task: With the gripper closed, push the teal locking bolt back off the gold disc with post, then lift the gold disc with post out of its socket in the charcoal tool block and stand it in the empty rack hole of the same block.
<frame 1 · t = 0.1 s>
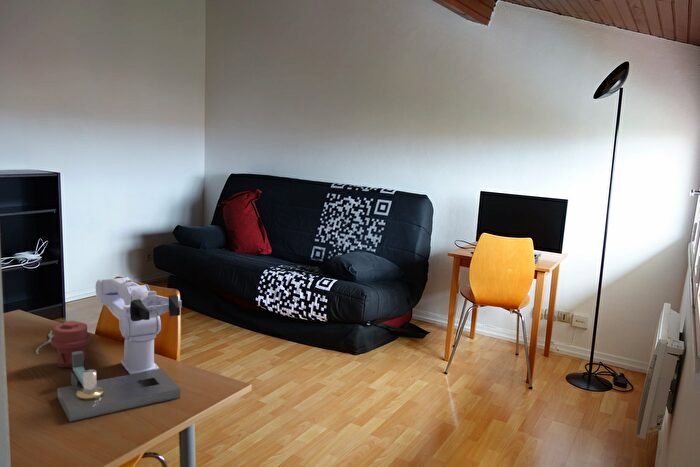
hand: (163, 313, 149), 22 cm above the table, tool horizontal, fingers open, 7 cm apart
gold disc with post: (90, 403, 145), resting in tool block
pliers: (50, 344, 181), on the table
locking bolt: (82, 368, 150), point 6 cm above the table, slide at 0.0 cm
mechanical component: (71, 365, 166), on the table
tool block: (119, 397, 149), on the table
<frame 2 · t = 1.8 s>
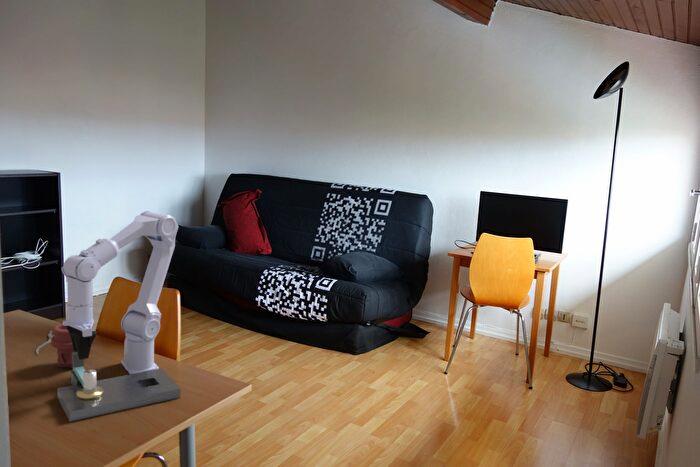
hand: (81, 354, 150), 9 cm above the table, tool pointing down, fingers open, 5 cm apart
nothing on the table moved.
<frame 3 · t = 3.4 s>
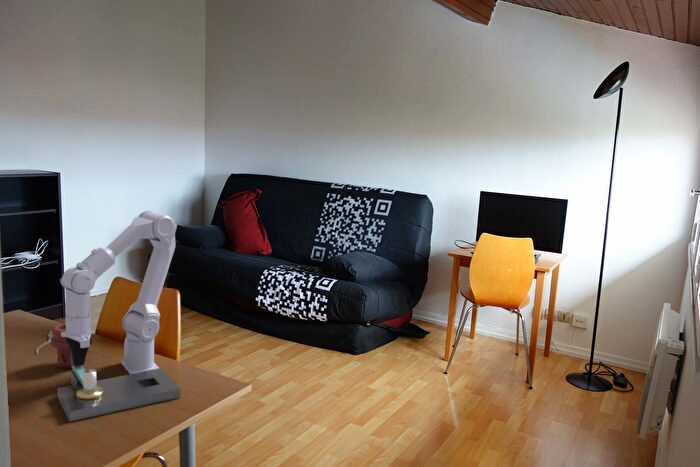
hand: (79, 365, 153), 6 cm above the table, tool pointing down, fingers closed
locking bolt: (81, 367, 151), point 6 cm above the table, slide at 1.2 cm, touching gripper
everything else where it was.
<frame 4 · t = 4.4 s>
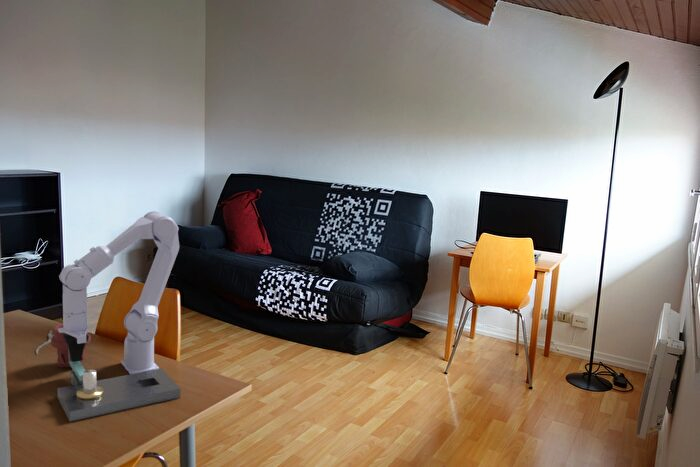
hand: (76, 360, 156), 6 cm above the table, tool pointing down, fingers closed
locking bolt: (78, 362, 154), point 6 cm above the table, slide at 4.5 cm, touching gripper
everything else where it was.
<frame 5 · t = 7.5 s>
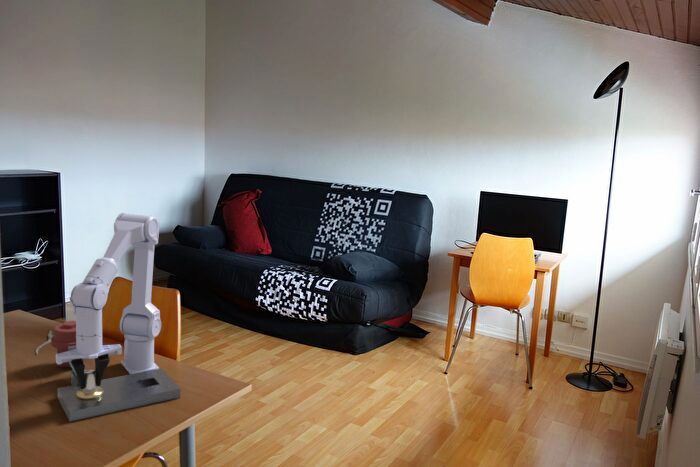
hand: (89, 386, 144), 5 cm above the table, tool pointing down, fingers closed on gold disc with post, 3 cm apart
gold disc with post: (90, 403, 145), resting in tool block, touching gripper
locking bolt: (78, 362, 154), point 6 cm above the table, slide at 4.5 cm
everything else where it was.
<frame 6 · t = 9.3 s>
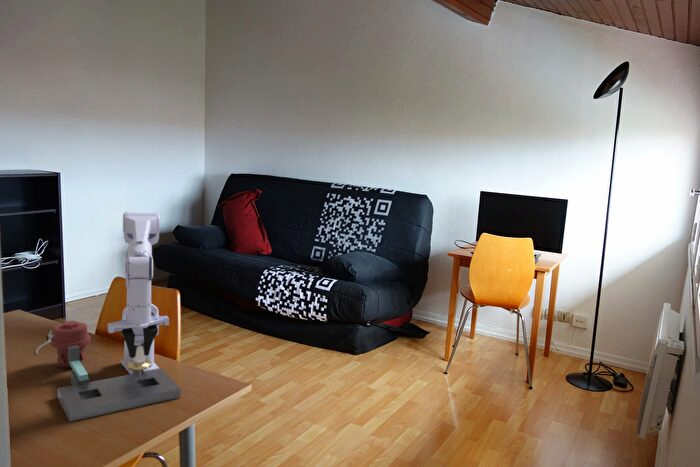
hand: (138, 355, 150), 10 cm above the table, tool pointing down, fingers closed on gold disc with post, 3 cm apart
gold disc with post: (138, 375, 151), point 5 cm above the table, touching gripper
everything else where it was.
when the fingers open (6 cm above the table, at t = 10.9 s): gold disc with post stays where it is, resting on tool block.
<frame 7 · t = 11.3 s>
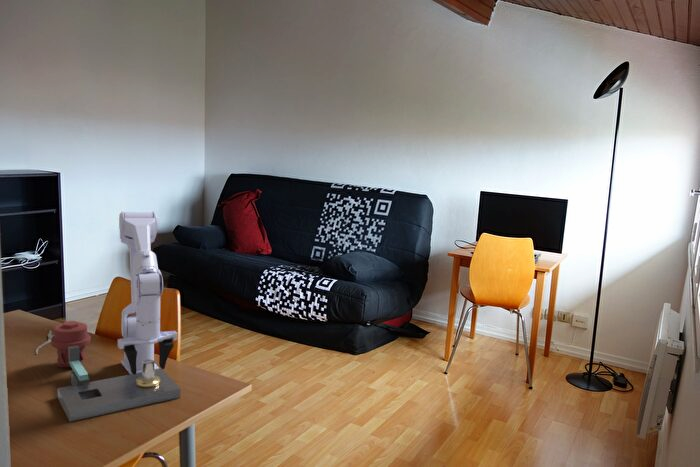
hand: (148, 370, 152), 6 cm above the table, tool pointing down, fingers open, 7 cm apart
gold disc with post: (148, 391, 153), resting on tool block
everything else where it was.
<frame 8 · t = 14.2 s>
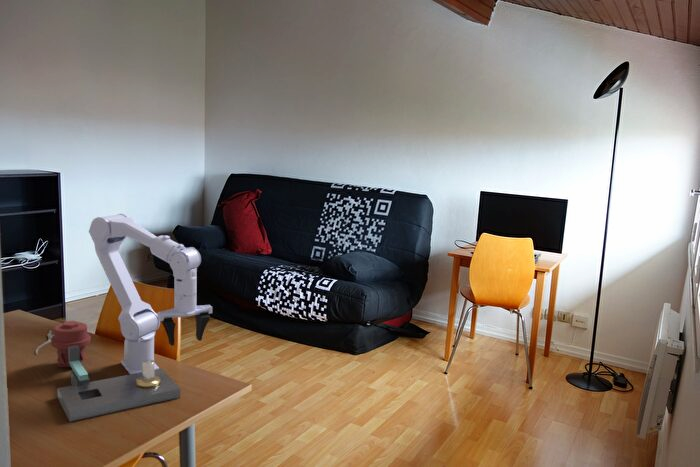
hand: (185, 341, 161), 10 cm above the table, tool pointing down, fingers open, 7 cm apart
nothing on the table moved.
at the end: locking bolt slide at 4.5 cm; gold disc with post 0.1 cm from the target spot on the tool block, point 0.0 cm above the tool block's base; gold disc with post tilted 0° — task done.
